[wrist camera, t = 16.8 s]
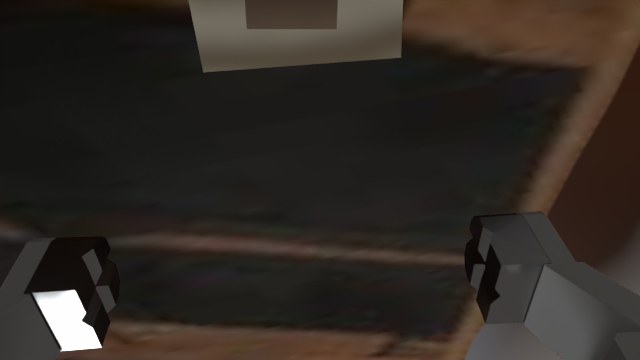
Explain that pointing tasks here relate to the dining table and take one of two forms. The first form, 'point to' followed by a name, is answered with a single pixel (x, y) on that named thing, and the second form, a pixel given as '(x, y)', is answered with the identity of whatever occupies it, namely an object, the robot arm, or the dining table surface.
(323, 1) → the walnut block
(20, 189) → the dining table surface
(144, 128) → the dining table surface
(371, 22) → the ash platform
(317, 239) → the dining table surface
